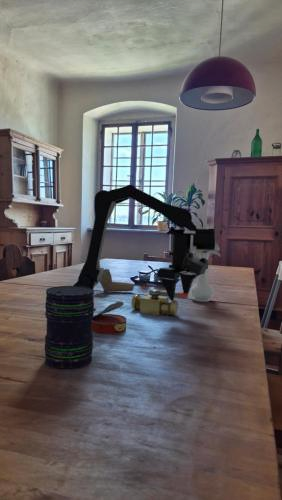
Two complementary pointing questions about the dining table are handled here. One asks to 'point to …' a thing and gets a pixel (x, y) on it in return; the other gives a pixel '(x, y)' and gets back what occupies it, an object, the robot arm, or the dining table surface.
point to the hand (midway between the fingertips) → (179, 297)
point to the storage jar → (69, 327)
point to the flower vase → (203, 276)
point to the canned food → (109, 321)
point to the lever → (163, 293)
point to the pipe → (113, 283)
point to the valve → (155, 305)
